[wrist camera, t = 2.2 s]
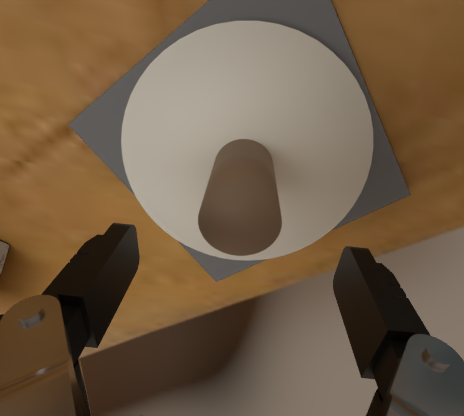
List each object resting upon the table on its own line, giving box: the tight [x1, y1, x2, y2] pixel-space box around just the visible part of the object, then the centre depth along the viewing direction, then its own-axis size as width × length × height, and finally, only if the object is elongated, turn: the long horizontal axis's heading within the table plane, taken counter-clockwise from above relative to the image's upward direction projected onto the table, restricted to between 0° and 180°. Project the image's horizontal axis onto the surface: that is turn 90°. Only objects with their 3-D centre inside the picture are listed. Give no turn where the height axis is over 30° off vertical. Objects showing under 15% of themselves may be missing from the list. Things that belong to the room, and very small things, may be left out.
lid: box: [121, 21, 373, 261], centre depth 15 cm, size 15×15×7 cm
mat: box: [68, 0, 411, 282], centre depth 18 cm, size 16×16×1 cm
